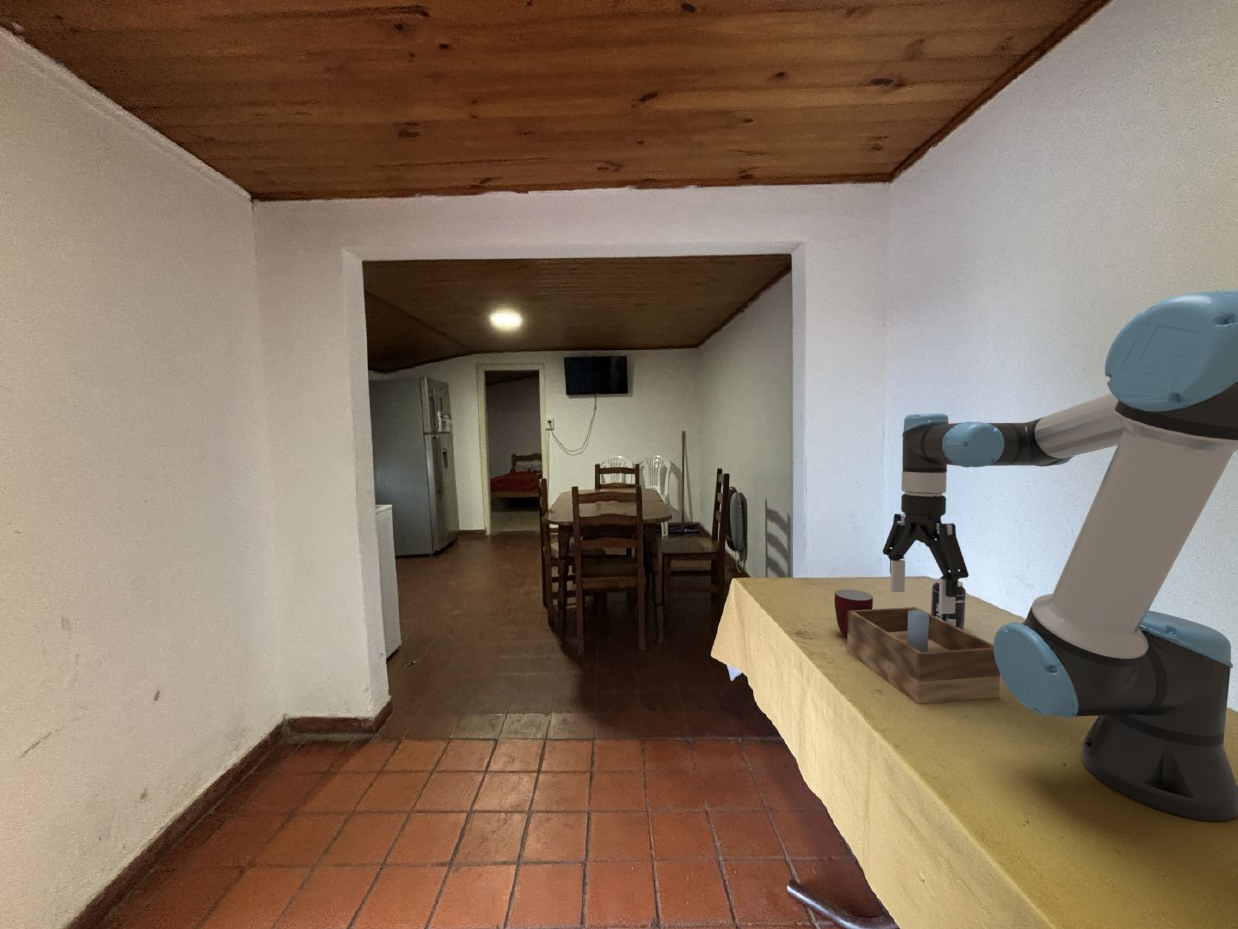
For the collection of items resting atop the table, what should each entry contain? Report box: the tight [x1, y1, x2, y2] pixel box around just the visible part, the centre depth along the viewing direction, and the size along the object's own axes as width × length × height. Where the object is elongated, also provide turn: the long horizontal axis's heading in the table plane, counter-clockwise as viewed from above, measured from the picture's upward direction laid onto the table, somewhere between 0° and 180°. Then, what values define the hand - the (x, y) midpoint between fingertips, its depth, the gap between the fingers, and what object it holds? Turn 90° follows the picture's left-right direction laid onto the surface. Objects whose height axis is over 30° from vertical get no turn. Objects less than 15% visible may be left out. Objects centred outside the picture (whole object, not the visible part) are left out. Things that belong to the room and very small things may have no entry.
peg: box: [907, 610, 930, 652], centre depth 104 cm, size 4×4×12 cm
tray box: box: [846, 606, 1001, 705], centre depth 104 cm, size 22×16×9 cm
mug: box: [834, 588, 874, 639], centre depth 121 cm, size 11×8×10 cm
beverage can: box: [930, 578, 967, 631], centre depth 125 cm, size 7×7×12 cm
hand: (920, 601), depth 103 cm, fingers open, 13 cm apart
